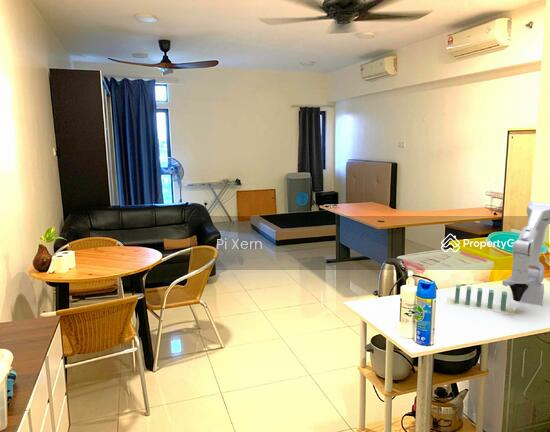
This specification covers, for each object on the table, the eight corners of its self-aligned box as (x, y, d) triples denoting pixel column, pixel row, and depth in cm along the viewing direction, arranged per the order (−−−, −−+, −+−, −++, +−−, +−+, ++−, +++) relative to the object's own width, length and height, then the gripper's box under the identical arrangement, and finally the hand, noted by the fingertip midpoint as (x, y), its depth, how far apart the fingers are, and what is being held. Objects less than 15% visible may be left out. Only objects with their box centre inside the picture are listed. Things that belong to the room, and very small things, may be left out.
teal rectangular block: (480, 303, 180) (482, 288, 179) (480, 307, 176) (482, 291, 175) (476, 303, 181) (478, 287, 179) (476, 306, 177) (478, 290, 176)
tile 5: (458, 300, 184) (460, 285, 182) (458, 303, 180) (460, 288, 179) (455, 299, 184) (456, 284, 183) (454, 303, 181) (456, 287, 179)
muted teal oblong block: (469, 302, 182) (471, 286, 180) (469, 305, 178) (471, 289, 177) (465, 301, 183) (467, 286, 181) (465, 304, 179) (466, 289, 178)
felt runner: (513, 307, 177) (513, 306, 177) (514, 315, 169) (514, 314, 169) (447, 297, 188) (447, 296, 188) (446, 304, 180) (446, 303, 180)
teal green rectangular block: (504, 307, 176) (506, 291, 175) (505, 311, 173) (507, 295, 171) (500, 306, 177) (502, 291, 175) (500, 310, 173) (502, 294, 172)
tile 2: (491, 305, 178) (493, 290, 177) (492, 308, 175) (493, 293, 173) (487, 304, 179) (489, 289, 178) (487, 308, 175) (489, 292, 174)
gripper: (526, 264, 175) (522, 295, 178) (498, 267, 171) (494, 298, 174) (541, 270, 168) (537, 301, 171) (511, 273, 165) (508, 305, 167)
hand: (516, 300), depth 172 cm, fingers closed
